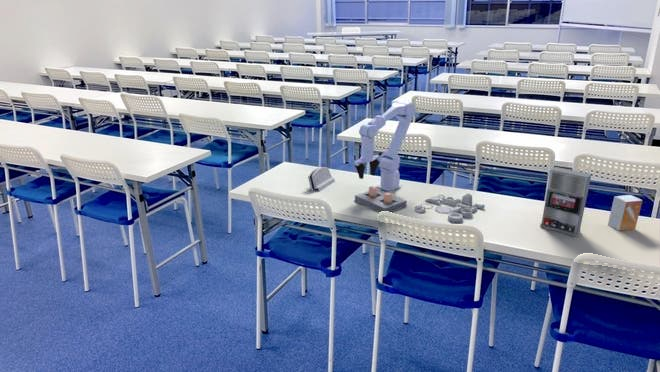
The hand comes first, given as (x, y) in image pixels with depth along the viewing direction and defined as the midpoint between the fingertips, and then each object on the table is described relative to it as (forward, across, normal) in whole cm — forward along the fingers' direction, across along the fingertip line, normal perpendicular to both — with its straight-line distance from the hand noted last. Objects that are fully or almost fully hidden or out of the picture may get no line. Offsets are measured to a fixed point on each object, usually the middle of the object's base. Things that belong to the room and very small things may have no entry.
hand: (366, 176), depth 226 cm
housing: (+9, +2, +12) cm, 15 cm away
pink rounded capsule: (+9, +2, +7) cm, 12 cm away
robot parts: (+10, -16, +36) cm, 41 cm away
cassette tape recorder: (+10, -33, +79) cm, 87 cm away
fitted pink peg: (+9, +2, +17) cm, 19 cm away
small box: (+10, -55, +95) cm, 110 cm away
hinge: (+10, +8, -25) cm, 28 cm away
